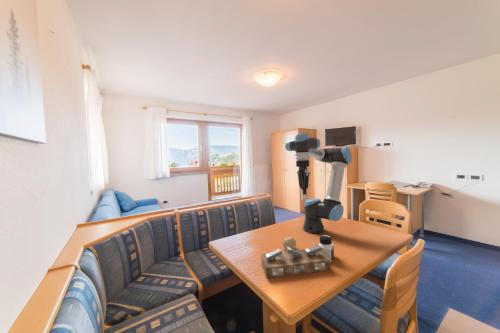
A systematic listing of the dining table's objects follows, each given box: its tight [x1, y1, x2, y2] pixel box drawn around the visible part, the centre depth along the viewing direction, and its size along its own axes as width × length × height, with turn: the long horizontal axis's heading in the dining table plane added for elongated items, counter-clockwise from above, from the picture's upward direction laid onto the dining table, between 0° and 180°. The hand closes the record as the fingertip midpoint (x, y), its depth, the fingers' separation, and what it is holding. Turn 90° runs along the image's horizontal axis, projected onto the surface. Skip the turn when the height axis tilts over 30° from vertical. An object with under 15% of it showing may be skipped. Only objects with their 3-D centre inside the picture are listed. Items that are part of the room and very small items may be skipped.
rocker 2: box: [284, 247, 302, 257], centre depth 100 cm, size 8×3×2 cm, turn 98°
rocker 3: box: [305, 243, 322, 255], centre depth 102 cm, size 8×3×2 cm, turn 97°
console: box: [260, 248, 331, 279], centre depth 101 cm, size 32×13×6 cm, turn 97°
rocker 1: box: [265, 248, 283, 261], centre depth 99 cm, size 8×3×2 cm, turn 97°
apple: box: [282, 236, 297, 250], centre depth 120 cm, size 8×8×8 cm
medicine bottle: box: [318, 234, 335, 263], centre depth 108 cm, size 7×7×12 cm
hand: (304, 199), depth 117 cm, fingers closed
